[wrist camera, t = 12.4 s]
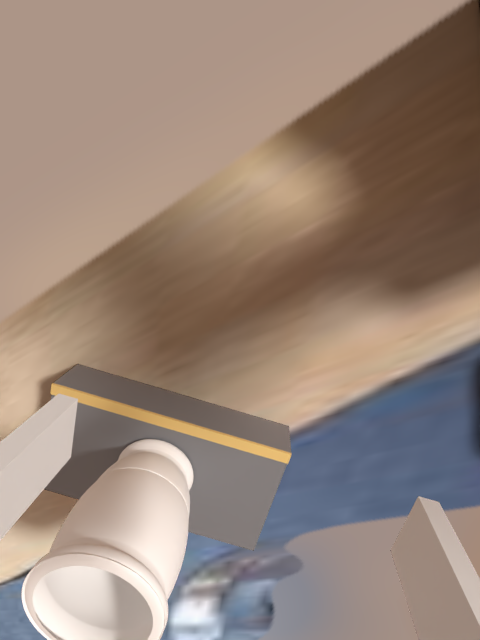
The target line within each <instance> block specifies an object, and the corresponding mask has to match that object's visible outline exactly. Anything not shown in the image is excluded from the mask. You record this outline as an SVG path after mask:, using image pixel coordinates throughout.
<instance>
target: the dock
mask: <svg viewBox="0 0 480 640" xmlns="http://www.w3.org/2000/svg"><path fill="white" fill-rule="evenodd" d="M50 394H52V395H51V399H53V398H54V397H55V396H56V395H57V394H63V395H66V396H70V397H73V398H77V399H78V403H77V411H76V419H75V427H74V436H73V444H72V452H71V458H70V459H69V460H68V461H67V463H66V464H65V465H64V466H63V467H62V468H61V470H60V471H59V472H58V473H57V474H56V475H55V477H54V478H53V479H52V480H51V481H50V483H49V484H48V485H47V486H46V487H45V488H44V489H45V490H48V491H52V492H55V493H58V494H62V495H65V496H69V497H72V498H76V499H80V498H81V496H82V495H83V494H84V493H85V492H86V491H87V490H88V489H89V488H90V487H91V486H92V485H93V484H94V483H95V482H96V481H97V480H98V478H99V477H100V476H101V475H102V474H103V473H104V472H105V471H106V470H107V469H108V468H109V467H110V466H112V465H113V464H114V463H116V462H117V461H118V458H119V456H120V454H121V453H122V451H123V450H124V449H125V448H126V447H127V446H129V445H130V444H132V443H134V442H136V441H139V440H144V439H156V440H161V441H165V442H167V443H170V444H172V445H174V446H175V447H177V448H178V449H179V450H181V451H182V452H183V453H184V454H185V455H186V457H187V458H188V460H189V461H190V463H191V466H192V469H193V475H194V477H193V484H192V487H191V489H190V490H189V494H190V513H189V524H188V532H191V533H195V534H198V535H202V536H205V537H208V538H212V539H215V540H219V541H222V542H226V543H229V544H232V545H236V546H239V547H243V548H246V549H249V550H253V551H254V548H255V546H256V543H257V540H258V538H259V535H260V533H261V530H262V527H263V525H264V522H265V520H266V517H267V515H268V512H269V509H270V507H271V504H272V502H273V499H274V496H275V494H276V491H277V489H278V486H279V483H280V481H281V478H282V476H283V473H284V470H285V468H286V465H287V464H288V462H289V460H290V457H291V444H290V433H289V426H286V425H283V424H280V423H276V422H273V421H269V420H266V419H263V418H259V417H256V416H252V415H249V414H246V413H242V412H239V411H235V410H232V409H229V408H225V407H222V406H218V405H215V404H212V403H208V402H205V401H201V400H198V399H195V398H191V397H188V396H184V395H181V394H178V393H174V392H171V391H167V390H164V389H161V388H157V387H154V386H151V385H147V384H144V383H140V382H137V381H134V380H130V379H127V378H123V377H120V376H117V375H113V374H110V373H106V372H103V371H100V370H96V369H93V368H89V367H86V366H83V365H79V364H77V365H76V366H74V367H73V368H72V369H70V370H69V371H68V372H67V373H65V374H64V375H63V376H61V377H60V378H59V379H58V380H56V381H55V382H54V383H52V385H51V392H50Z"/></svg>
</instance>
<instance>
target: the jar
mask: <svg viewBox="0 0 480 640" xmlns="http://www.w3.org/2000/svg"><path fill="white" fill-rule="evenodd" d="M193 477H194V475H193V469H192V466H191V463H190V461H189V460H188V458H187V457H186V455H185V454H184V453H183V452H182V451H181V450H179V449H178V448H177V447H175V446H174V445H172V444H170V443H167V442H165V441H161V440H156V439H144V440H139V441H136V442H134V443H132V444H130V445H129V446H127V447H126V448H125V449H124V450H123V451H122V453H121V454H120V456H119V458H118V461H117V462H116V463H114V464H113V465H112V466H110V467H109V468H108V469H107V470H106V471H105V472H104V473H103V474H102V475H101V476H100V477H99V478H98V480H97V481H96V482H95V483H94V484H93V485H92V486H91V487H90V488H89V489H88V490H87V491H86V492H85V493H84V494H83V495H82V496H81V498H80V499H79V500H78V501H77V503H76V504H75V505H74V507H73V508H72V509H71V511H70V512H69V514H68V516H67V517H66V519H65V521H64V522H63V524H62V526H61V528H60V530H59V532H58V533H57V536H56V538H55V540H54V542H53V544H52V547H51V549H50V552H49V553H48V554H46V555H45V556H44V557H42V558H41V559H40V560H39V561H38V562H37V563H36V564H35V566H34V567H33V568H32V570H31V571H30V572H29V574H28V575H27V577H26V578H25V581H24V583H23V587H22V602H23V606H24V609H25V612H26V614H27V616H28V618H29V620H30V621H31V623H32V624H33V625H34V627H35V628H36V629H37V630H38V631H39V632H40V633H41V634H42V635H43V636H44V637H45V638H47V639H48V640H160V638H161V637H162V634H163V632H164V629H165V626H166V623H167V619H168V603H167V600H168V598H169V596H170V594H171V592H172V590H173V587H174V585H175V583H176V580H177V577H178V575H179V572H180V569H181V566H182V562H183V559H184V555H185V550H186V545H187V538H188V524H189V513H190V494H189V490H190V489H191V487H192V484H193Z"/></svg>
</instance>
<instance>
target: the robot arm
mask: <svg viewBox="0 0 480 640" xmlns="http://www.w3.org/2000/svg"><path fill="white" fill-rule="evenodd" d="M479 5H480V0H479ZM77 403H78V399H77V398H73V397H70V396H66V395H63V394H57V395H56V396H55V397H54V398H53V399H51V400H50V401H49V402H48V403H47V404H45V405H44V406H43V407H42V408H40V409H39V410H38V411H37V412H36V413H34V414H33V415H32V416H31V417H30V418H28V419H27V420H26V421H25V422H24V423H22V424H21V425H20V426H19V427H18V428H16V429H15V430H14V431H13V432H12V433H10V434H9V435H8V436H7V437H6V438H4V439H3V440H2V441H1V442H0V540H1V539H2V538H3V537H4V536H5V535H6V533H7V532H8V531H9V530H10V529H11V527H12V526H13V525H14V524H15V523H16V522H17V520H18V519H19V518H20V517H21V516H22V514H23V513H24V512H25V511H26V510H27V509H28V507H29V506H30V505H31V504H32V503H33V501H34V500H35V499H36V498H37V497H38V496H39V494H40V493H41V492H42V491H43V490H44V488H45V487H46V486H47V485H48V484H49V483H50V481H51V480H52V479H53V478H54V477H55V475H56V474H57V473H58V472H59V471H60V470H61V468H62V467H63V466H64V465H65V464H66V463H67V461H68V460H69V459H70V458H71V452H72V444H73V436H74V427H75V419H76V411H77ZM390 551H391V554H392V557H393V560H394V563H395V566H396V570H397V573H398V576H399V579H400V582H401V585H402V589H403V592H404V595H405V598H406V601H407V605H408V608H409V611H410V614H411V617H412V620H413V624H414V627H415V630H416V633H417V636H418V639H419V640H480V578H479V576H478V575H477V573H476V571H475V569H474V567H473V565H472V563H471V561H470V560H469V558H468V556H467V554H466V552H465V550H464V548H463V546H462V545H461V543H460V541H459V539H458V537H457V535H456V533H455V531H454V530H453V528H452V526H451V524H450V522H449V520H448V518H447V517H446V515H445V513H444V511H443V509H442V507H441V505H440V503H439V502H437V501H433V500H430V499H426V498H423V497H419V496H418V498H417V500H416V502H415V504H414V506H413V508H412V510H411V512H410V514H409V516H408V517H407V520H406V521H405V523H404V526H403V528H402V529H401V531H400V533H399V535H398V537H397V539H396V541H395V543H394V544H393V547H392V548H391V550H390Z"/></svg>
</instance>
